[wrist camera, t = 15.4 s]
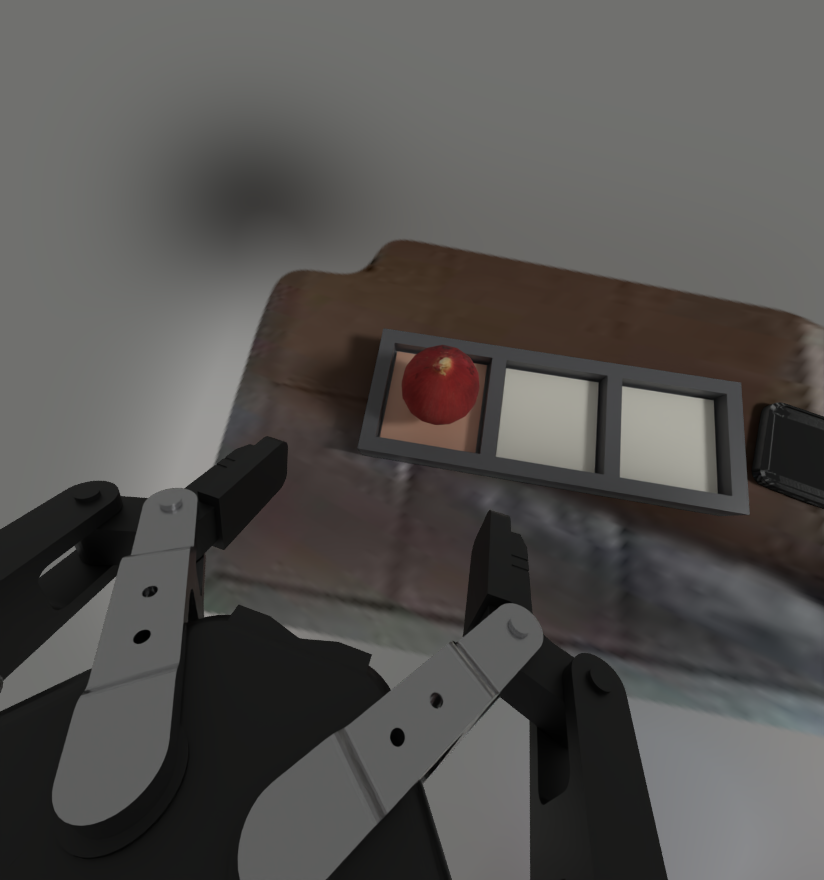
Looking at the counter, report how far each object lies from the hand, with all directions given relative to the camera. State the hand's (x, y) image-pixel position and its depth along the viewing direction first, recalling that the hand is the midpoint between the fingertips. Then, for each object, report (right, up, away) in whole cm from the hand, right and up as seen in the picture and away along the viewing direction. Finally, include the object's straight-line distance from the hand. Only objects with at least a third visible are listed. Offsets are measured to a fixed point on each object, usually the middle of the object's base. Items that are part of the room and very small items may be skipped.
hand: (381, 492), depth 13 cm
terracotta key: (+3, +5, +17) cm, 18 cm away
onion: (+3, +5, +16) cm, 18 cm away
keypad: (+13, +3, +17) cm, 22 cm away
